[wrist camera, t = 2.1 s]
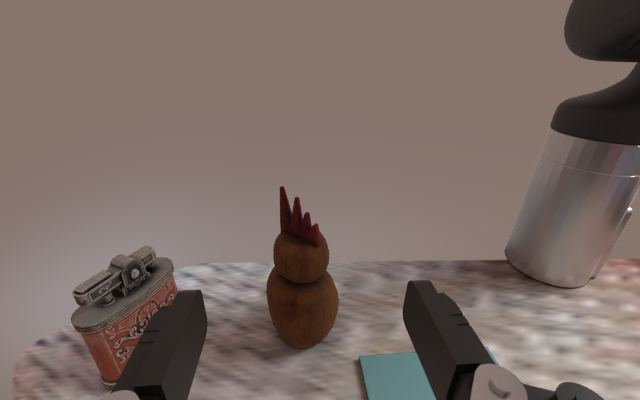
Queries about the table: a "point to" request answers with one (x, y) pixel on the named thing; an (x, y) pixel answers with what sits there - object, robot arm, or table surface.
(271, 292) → the wooden figurine
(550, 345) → the table surface
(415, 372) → the mat
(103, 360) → the lighter
